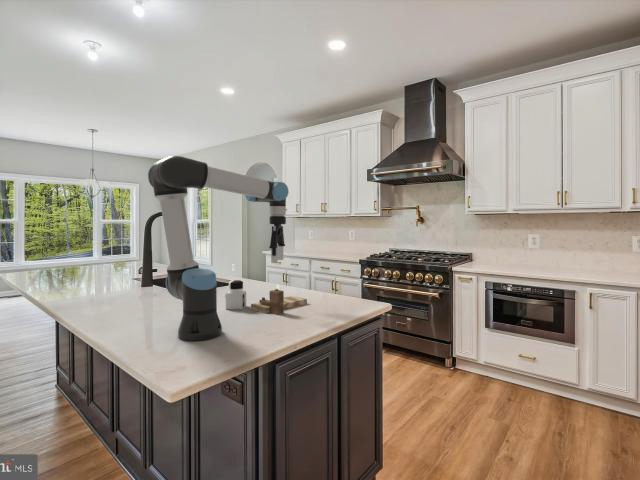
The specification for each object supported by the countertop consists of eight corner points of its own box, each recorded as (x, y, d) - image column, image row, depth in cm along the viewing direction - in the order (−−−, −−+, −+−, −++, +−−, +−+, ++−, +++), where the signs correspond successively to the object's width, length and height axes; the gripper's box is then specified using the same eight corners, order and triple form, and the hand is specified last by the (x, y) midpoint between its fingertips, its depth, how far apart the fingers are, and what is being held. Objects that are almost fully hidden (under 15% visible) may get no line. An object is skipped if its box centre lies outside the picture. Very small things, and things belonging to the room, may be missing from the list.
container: (246, 306, 175) (246, 279, 174) (241, 310, 167) (241, 282, 167) (231, 305, 176) (230, 279, 175) (225, 309, 168) (225, 281, 167)
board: (265, 313, 161) (265, 308, 161) (250, 309, 169) (250, 304, 169) (306, 303, 180) (306, 298, 180) (291, 300, 188) (291, 295, 187)
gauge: (276, 314, 159) (276, 290, 158) (258, 309, 168) (257, 286, 168) (283, 313, 162) (283, 289, 161) (264, 308, 171) (264, 285, 170)
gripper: (280, 215, 154) (280, 264, 155) (290, 216, 179) (290, 258, 180) (263, 215, 155) (263, 264, 156) (275, 216, 180) (275, 258, 181)
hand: (277, 261), depth 168 cm, fingers open, 13 cm apart
